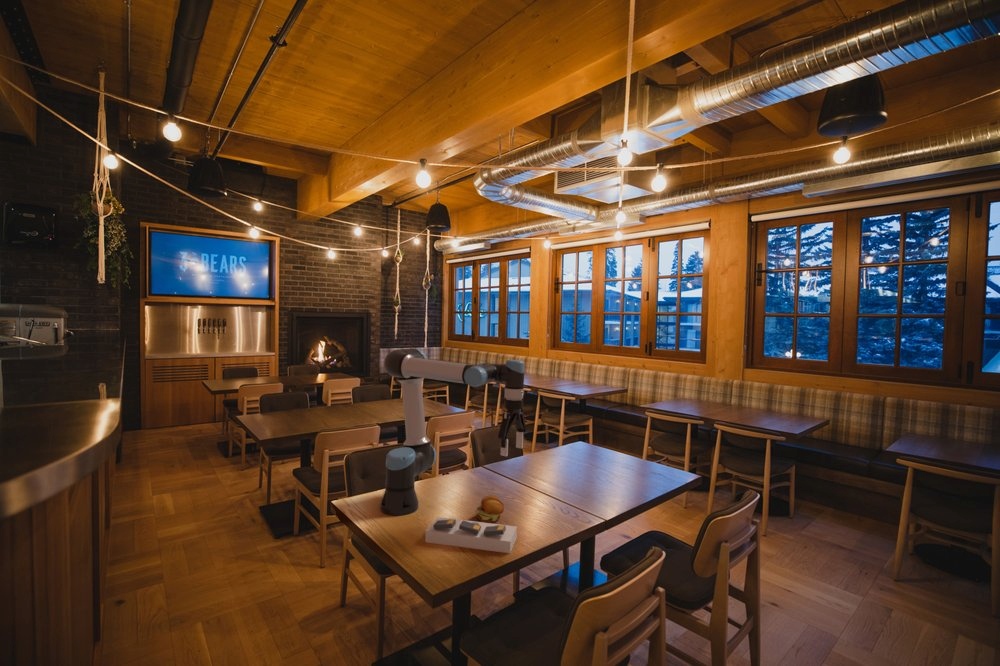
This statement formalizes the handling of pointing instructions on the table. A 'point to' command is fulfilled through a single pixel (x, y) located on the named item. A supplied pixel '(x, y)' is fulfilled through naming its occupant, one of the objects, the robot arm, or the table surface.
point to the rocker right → (494, 530)
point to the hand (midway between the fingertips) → (511, 451)
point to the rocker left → (444, 524)
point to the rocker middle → (470, 527)
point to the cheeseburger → (490, 509)
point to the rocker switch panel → (472, 537)
